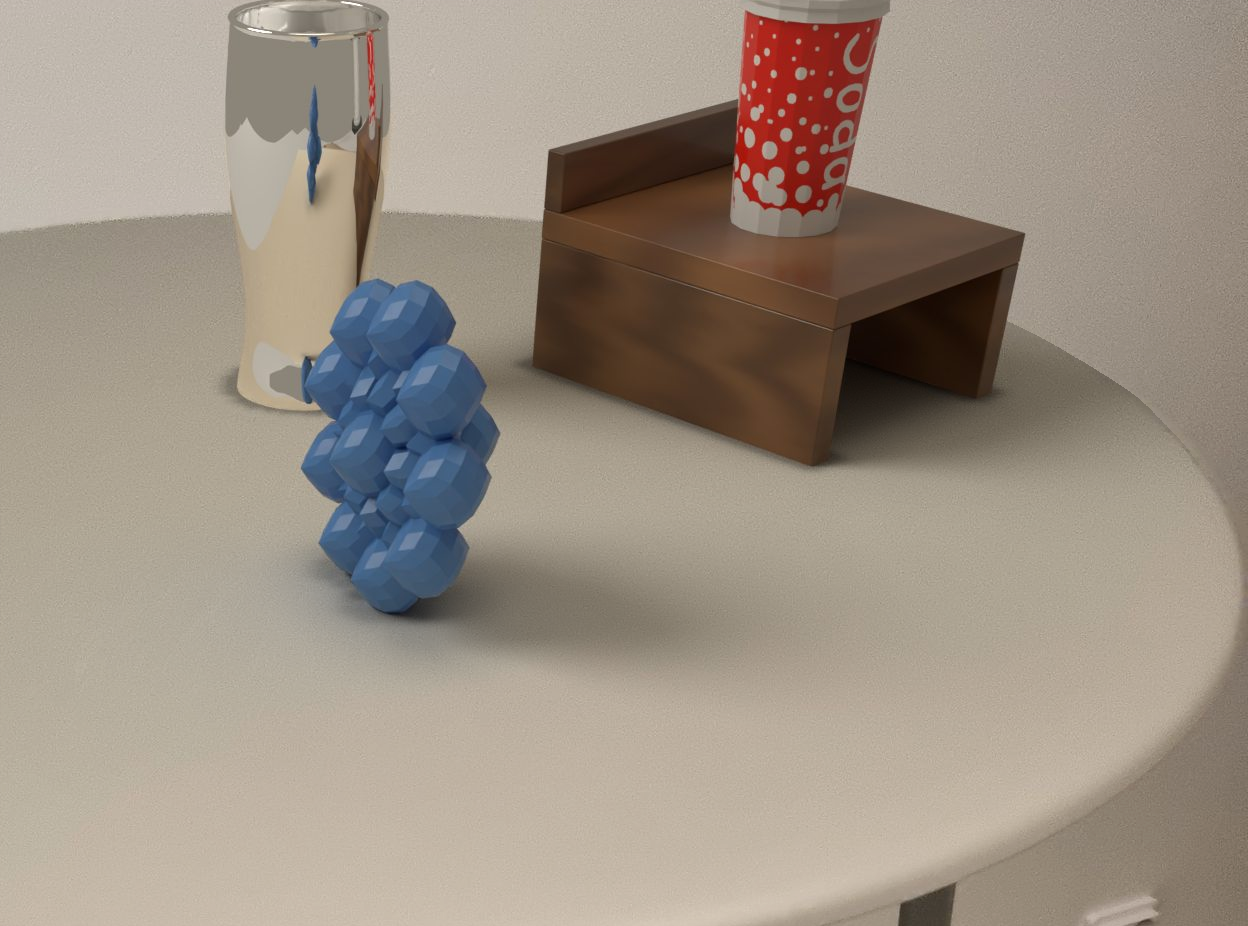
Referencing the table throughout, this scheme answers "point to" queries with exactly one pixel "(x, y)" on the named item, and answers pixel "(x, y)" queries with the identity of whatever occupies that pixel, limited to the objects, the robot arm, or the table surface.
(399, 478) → the grapes
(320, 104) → the beer glass
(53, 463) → the table surface
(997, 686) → the table surface
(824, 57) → the beverage cup
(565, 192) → the shelf
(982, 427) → the table surface
